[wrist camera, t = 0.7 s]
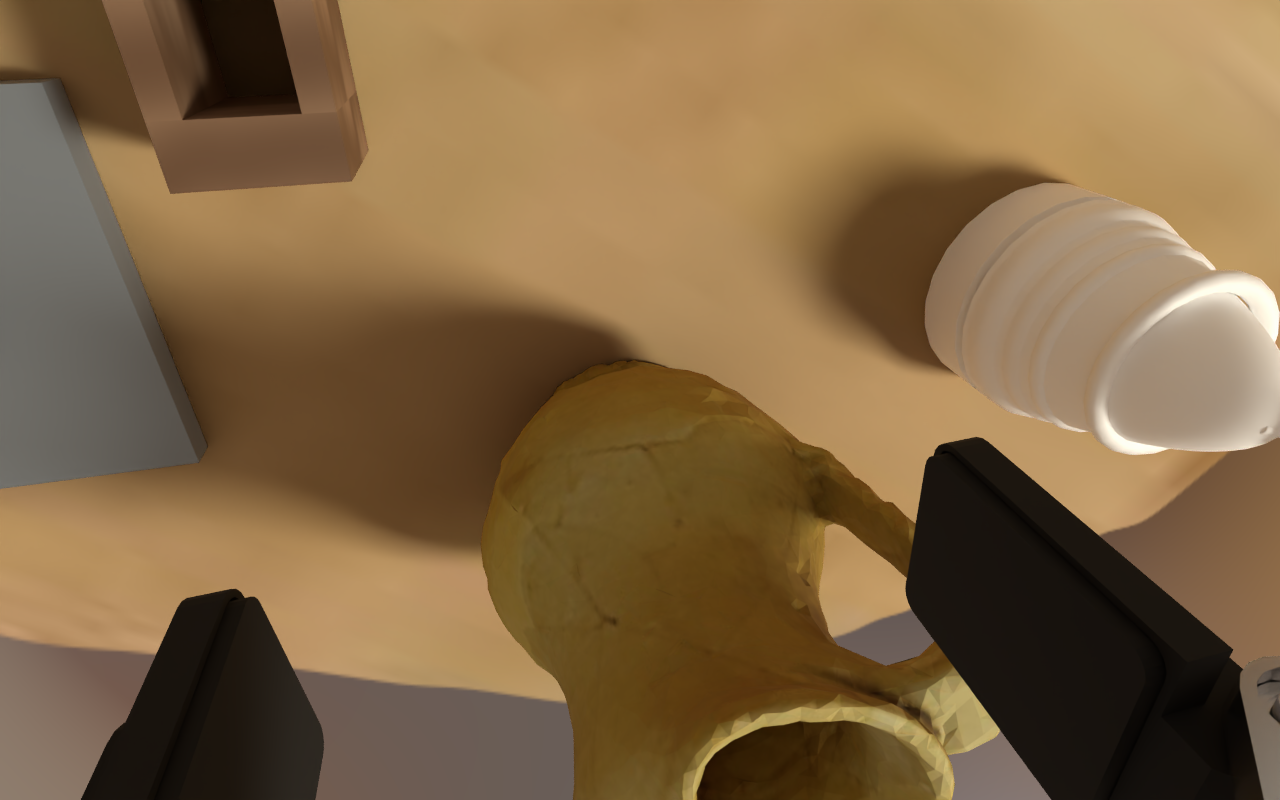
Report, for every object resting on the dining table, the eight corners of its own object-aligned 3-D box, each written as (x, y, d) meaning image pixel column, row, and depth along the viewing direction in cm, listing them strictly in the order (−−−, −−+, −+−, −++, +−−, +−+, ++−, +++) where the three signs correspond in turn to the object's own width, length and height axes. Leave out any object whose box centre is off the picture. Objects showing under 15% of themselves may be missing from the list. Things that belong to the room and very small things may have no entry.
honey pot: (1150, 199, 43) (1525, 316, 28) (1052, 384, 49) (1318, 563, 34) (977, 165, 39) (1300, 278, 24) (894, 369, 45) (1112, 563, 30)
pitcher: (467, 327, 38) (480, 764, 17) (793, 314, 42) (1136, 653, 21) (485, 568, 46) (508, 1059, 25) (754, 538, 50) (968, 940, 29)
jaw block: (139, -88, 27) (64, -105, 22) (319, -89, 28) (288, -105, 23) (216, 159, 31) (170, 193, 26) (368, 150, 32) (351, 181, 27)
